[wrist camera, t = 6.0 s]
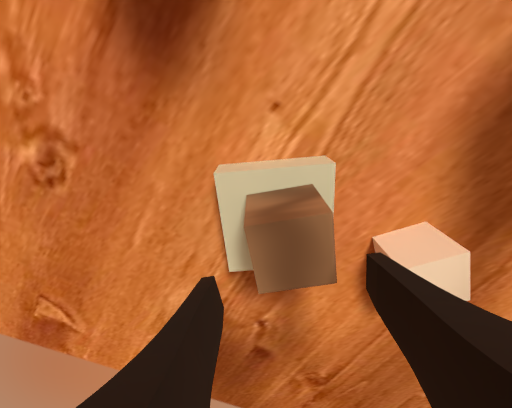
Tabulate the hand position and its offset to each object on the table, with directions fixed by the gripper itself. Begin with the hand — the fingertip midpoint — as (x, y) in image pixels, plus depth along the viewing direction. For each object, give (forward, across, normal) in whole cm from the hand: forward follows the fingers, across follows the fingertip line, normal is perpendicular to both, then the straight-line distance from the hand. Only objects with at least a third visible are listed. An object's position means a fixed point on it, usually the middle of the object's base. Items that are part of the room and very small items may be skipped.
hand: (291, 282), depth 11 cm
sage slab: (+9, 0, 0) cm, 9 cm away
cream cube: (+9, -10, +6) cm, 15 cm away
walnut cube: (+6, 0, 0) cm, 6 cm away
